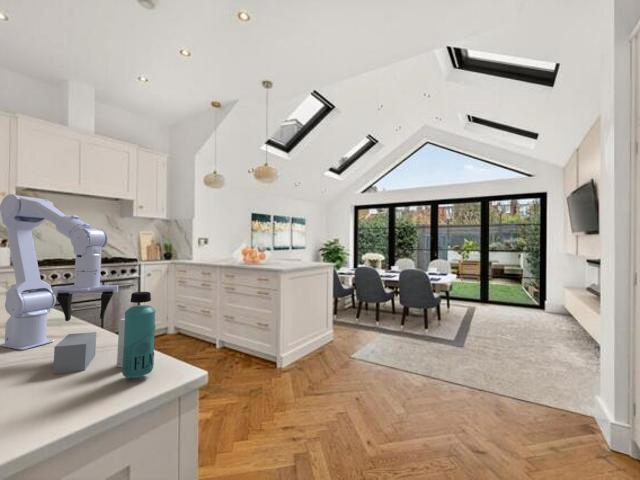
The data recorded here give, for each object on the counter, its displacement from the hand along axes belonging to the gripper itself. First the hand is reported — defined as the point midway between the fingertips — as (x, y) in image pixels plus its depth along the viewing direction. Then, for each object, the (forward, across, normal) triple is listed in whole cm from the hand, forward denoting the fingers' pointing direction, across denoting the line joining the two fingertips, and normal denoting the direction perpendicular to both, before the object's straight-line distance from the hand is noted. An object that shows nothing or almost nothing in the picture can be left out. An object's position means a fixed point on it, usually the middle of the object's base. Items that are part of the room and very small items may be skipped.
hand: (85, 319), depth 84 cm
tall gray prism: (+9, 0, -9) cm, 13 cm away
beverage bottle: (+9, +14, -24) cm, 30 cm away
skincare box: (+9, +13, -14) cm, 21 cm away
